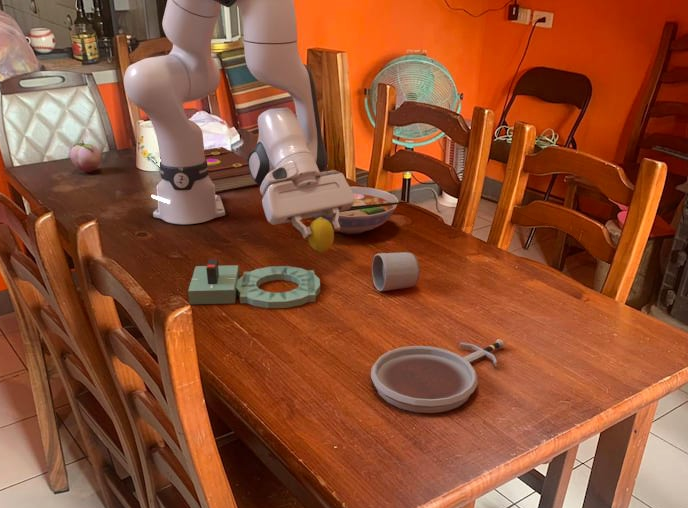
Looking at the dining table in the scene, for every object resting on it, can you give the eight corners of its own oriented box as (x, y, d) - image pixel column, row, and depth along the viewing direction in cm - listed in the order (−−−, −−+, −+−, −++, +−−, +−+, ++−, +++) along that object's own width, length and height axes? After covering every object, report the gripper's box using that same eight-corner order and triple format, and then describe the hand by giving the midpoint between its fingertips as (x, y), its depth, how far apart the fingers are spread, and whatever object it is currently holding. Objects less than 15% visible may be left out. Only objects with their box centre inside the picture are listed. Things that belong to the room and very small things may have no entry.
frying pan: (544, 355, 112) (424, 413, 97) (541, 370, 114) (422, 430, 99) (466, 317, 124) (348, 364, 109) (465, 331, 125) (348, 380, 110)
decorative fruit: (109, 170, 214) (104, 138, 209) (92, 177, 208) (86, 144, 202) (86, 167, 217) (80, 135, 212) (68, 174, 211) (61, 141, 206)
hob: (240, 273, 146) (239, 266, 146) (318, 271, 147) (318, 265, 146) (233, 309, 132) (233, 302, 131) (321, 307, 132) (321, 300, 132)
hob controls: (197, 279, 144) (195, 265, 142) (239, 278, 144) (238, 264, 143) (189, 304, 134) (187, 290, 132) (235, 303, 134) (233, 289, 132)
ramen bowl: (381, 209, 182) (382, 179, 177) (416, 239, 163) (418, 206, 159) (291, 219, 175) (290, 188, 171) (317, 252, 156) (316, 218, 152)
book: (224, 159, 224) (222, 144, 222) (267, 184, 201) (266, 167, 199) (158, 170, 214) (156, 154, 212) (196, 197, 191) (194, 179, 189)
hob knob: (210, 274, 138) (208, 258, 137) (219, 274, 139) (217, 258, 137) (207, 284, 135) (206, 267, 133) (217, 283, 135) (215, 267, 133)
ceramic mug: (421, 291, 138) (423, 256, 134) (384, 297, 136) (385, 261, 132) (399, 272, 147) (401, 238, 143) (364, 277, 145) (365, 243, 141)
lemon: (331, 258, 143) (331, 222, 138) (305, 256, 143) (304, 220, 139) (336, 248, 147) (336, 213, 143) (311, 247, 148) (310, 211, 144)
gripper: (335, 176, 152) (357, 231, 150) (252, 191, 143) (275, 249, 141) (345, 160, 146) (369, 217, 144) (260, 175, 137) (284, 235, 135)
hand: (322, 233), depth 142 cm, fingers closed on lemon, 5 cm apart
